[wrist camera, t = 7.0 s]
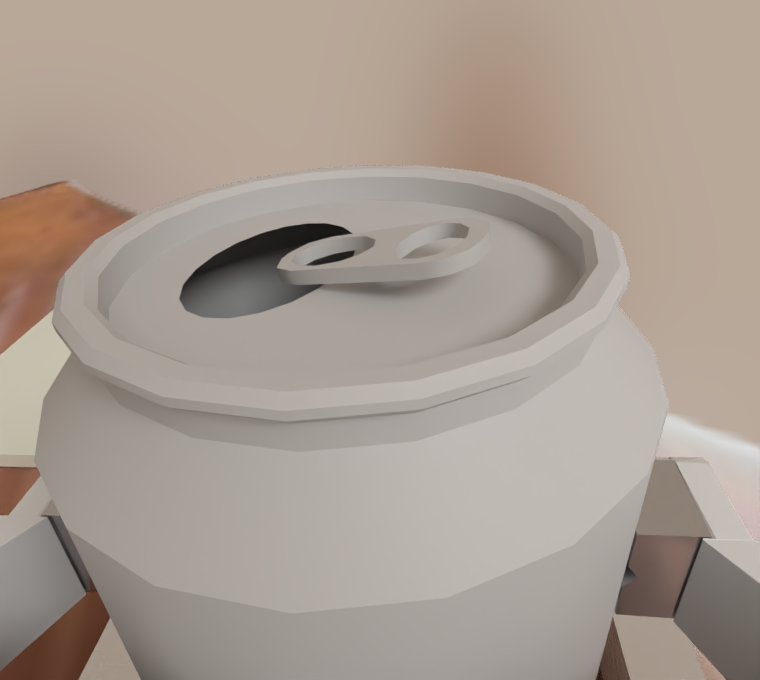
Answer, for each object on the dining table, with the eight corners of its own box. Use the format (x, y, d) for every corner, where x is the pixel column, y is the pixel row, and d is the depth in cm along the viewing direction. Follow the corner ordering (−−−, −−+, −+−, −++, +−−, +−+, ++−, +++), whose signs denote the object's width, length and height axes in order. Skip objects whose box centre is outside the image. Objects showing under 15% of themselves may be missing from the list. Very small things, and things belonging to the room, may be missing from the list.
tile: (-106, 463, 22) (-114, 451, 21) (69, 308, 32) (65, 299, 31) (206, 471, 20) (202, 458, 20) (283, 308, 30) (281, 298, 30)
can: (317, 554, 17) (248, 134, 11) (581, 641, 14) (693, 153, 8) (138, 856, 11) (-234, 327, 5) (525, 1094, 9) (761, 609, 2)
